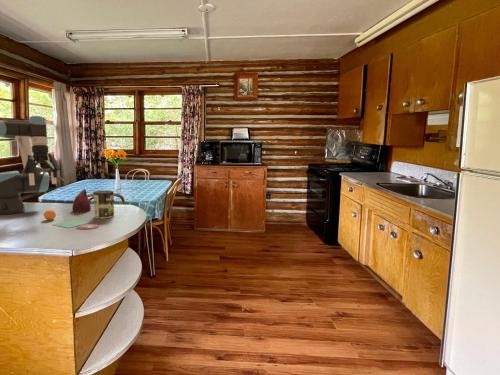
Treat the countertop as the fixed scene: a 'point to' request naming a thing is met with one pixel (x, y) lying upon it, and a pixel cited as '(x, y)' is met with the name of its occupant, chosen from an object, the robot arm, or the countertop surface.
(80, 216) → the countertop surface
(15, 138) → the robot arm
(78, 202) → the vegetable
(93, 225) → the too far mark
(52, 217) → the ball
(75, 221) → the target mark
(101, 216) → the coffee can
